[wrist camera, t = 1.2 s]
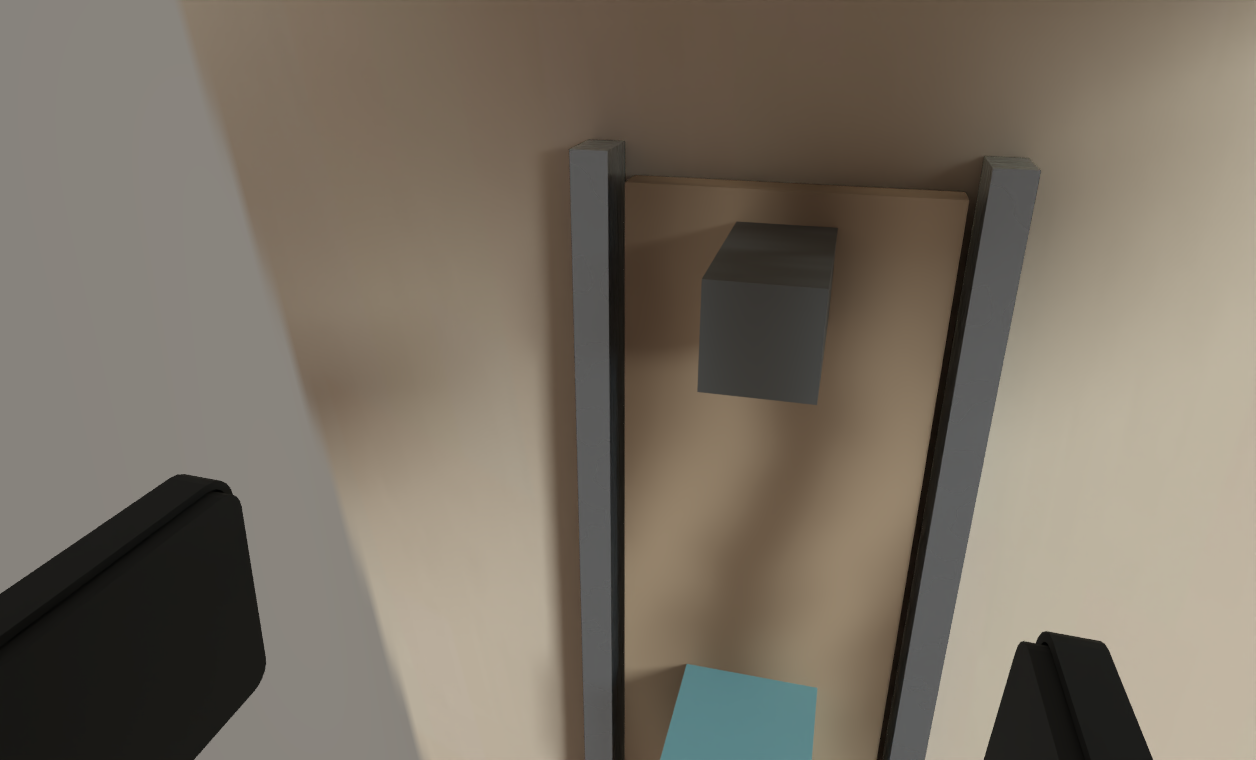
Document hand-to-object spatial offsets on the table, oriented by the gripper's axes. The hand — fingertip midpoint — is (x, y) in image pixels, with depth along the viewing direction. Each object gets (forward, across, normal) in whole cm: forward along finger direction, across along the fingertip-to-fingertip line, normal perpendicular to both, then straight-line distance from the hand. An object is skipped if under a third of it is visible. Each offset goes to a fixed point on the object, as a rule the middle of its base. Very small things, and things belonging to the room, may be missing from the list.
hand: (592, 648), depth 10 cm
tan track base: (+19, -2, +13) cm, 23 cm away
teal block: (+18, -2, +19) cm, 26 cm away
